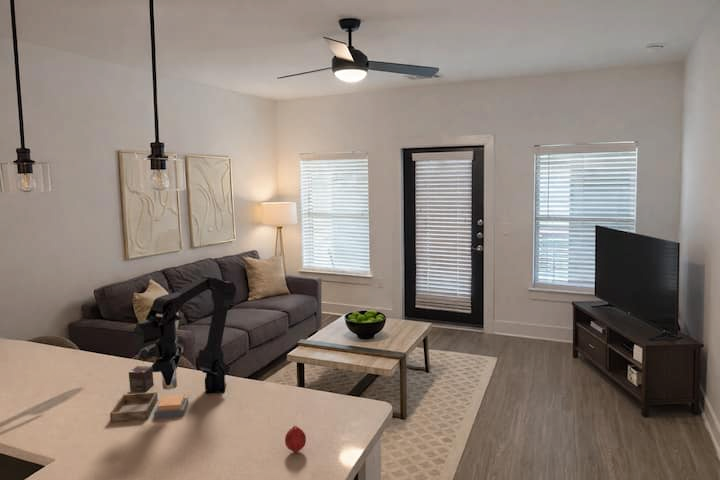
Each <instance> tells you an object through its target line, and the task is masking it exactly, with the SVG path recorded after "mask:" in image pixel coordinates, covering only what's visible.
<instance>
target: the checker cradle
mask: <svg viewBox="0 0 720 480" xmlns="http://www.w3.org/2000/svg"><path fill="white" fill-rule="evenodd" d="M160 401H161V399H160V400H159V402H158V404H157V406H156V408H155V409H154V411H153V415H154V417H153V418H154V419H162V418H163V419H164V418H174V417H184V416H185V413H186V411H187V409H188V407H189V397H185V402H184V404H183V406H182V409H178V410H165V411H158V405H159V403H160Z"/></svg>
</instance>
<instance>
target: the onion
mask: <svg viewBox="0 0 720 480" xmlns="http://www.w3.org/2000/svg"><path fill="white" fill-rule="evenodd" d="M306 442H307V437H306V433H305V431H304V430H303V429H301V428H300V427H298V426H297V425H293V426H292V428H290V429H289V430H288V431H287V432H286V434H285V436H284V444H285V447H286V448H287V449H288V450H289V451H292V452H293V453H295V454H297V453H299V452H300V451H301V450H302V449H303V448H304V447H305V445H306Z"/></svg>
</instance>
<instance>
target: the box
mask: <svg viewBox="0 0 720 480" xmlns="http://www.w3.org/2000/svg"><path fill="white" fill-rule="evenodd" d="M128 380H129V381H128V382H129V388H130V389H129V391H130V392H143V393H147V391H148V390H149V389H151V388H152V387H153V386H154V372H152V365H151V366H143V365H142V366H140V365H139V366H138V365H137V366H135V367H134V368H133V369H132V370H130V371H129V372H128Z"/></svg>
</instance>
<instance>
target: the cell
mask: <svg viewBox="0 0 720 480" xmlns="http://www.w3.org/2000/svg"><path fill="white" fill-rule="evenodd" d="M161 381H162V382H161V383H162V389H163V390H165V391H166V390H168V391H169V390H173V389H176V388H177V387H178V377H177V369H176V368H175V371H174V374H173V378H172V381H171V384H170V385H166V383H165V380H164V378H163V375H162V374H161Z"/></svg>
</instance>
